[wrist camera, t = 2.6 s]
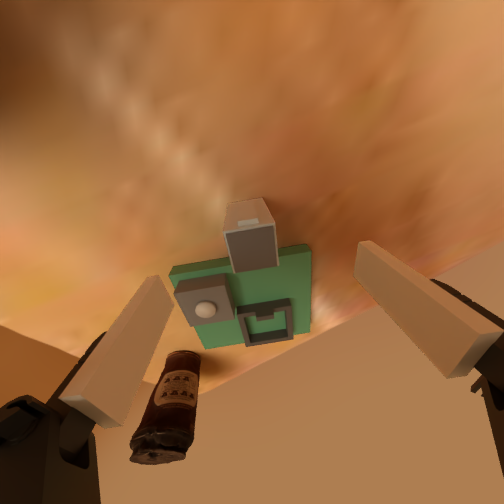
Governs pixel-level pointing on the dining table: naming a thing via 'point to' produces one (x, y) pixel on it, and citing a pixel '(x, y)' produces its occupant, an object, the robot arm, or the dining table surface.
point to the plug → (250, 236)
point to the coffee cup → (169, 413)
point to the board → (246, 299)
